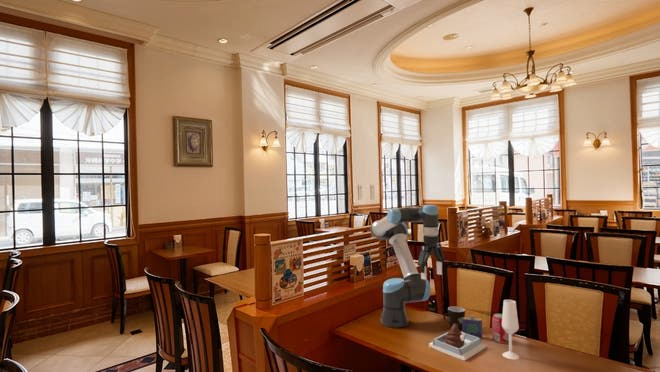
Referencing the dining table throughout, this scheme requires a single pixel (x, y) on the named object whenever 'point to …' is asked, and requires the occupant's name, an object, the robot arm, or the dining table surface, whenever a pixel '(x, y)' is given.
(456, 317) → the coffee mug
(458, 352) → the white square tray
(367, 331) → the dining table surface
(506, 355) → the champagne flute
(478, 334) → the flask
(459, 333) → the poop emoji
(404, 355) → the dining table surface
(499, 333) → the soda can
